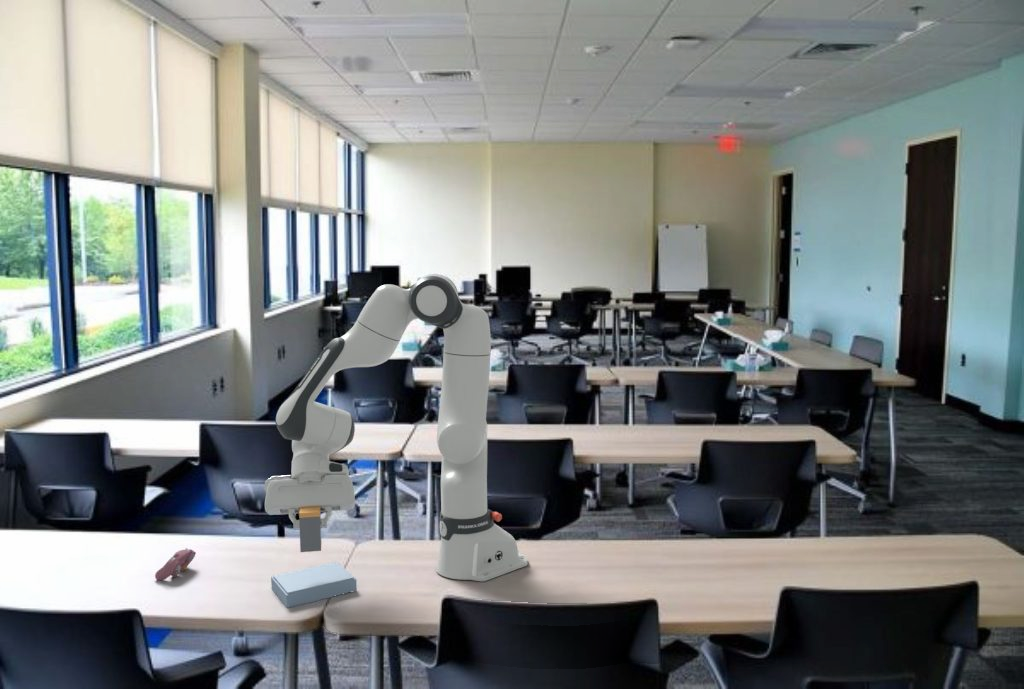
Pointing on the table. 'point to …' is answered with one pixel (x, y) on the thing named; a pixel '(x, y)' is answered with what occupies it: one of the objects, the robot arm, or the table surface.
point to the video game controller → (176, 564)
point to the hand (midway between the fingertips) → (310, 528)
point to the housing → (310, 529)
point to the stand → (312, 584)
